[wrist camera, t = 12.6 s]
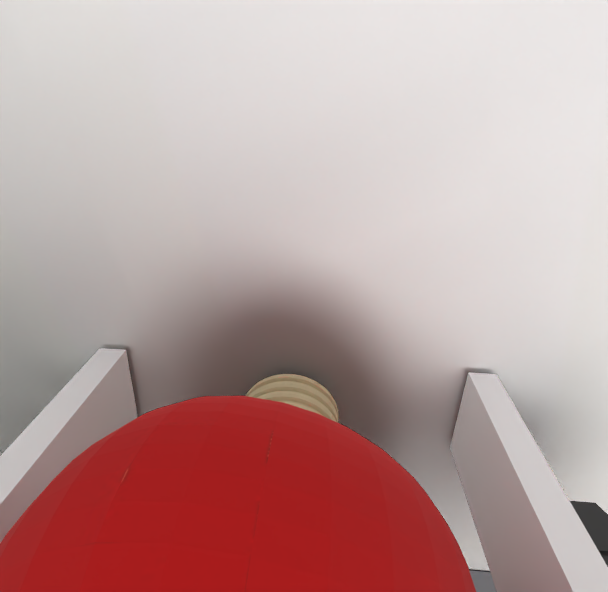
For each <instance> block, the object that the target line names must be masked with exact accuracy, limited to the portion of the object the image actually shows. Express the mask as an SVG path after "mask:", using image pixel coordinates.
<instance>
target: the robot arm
mask: <svg viewBox="0 0 608 592" xmlns="http://www.w3.org/2000/svg"><path fill="white" fill-rule="evenodd" d="M136 418H138V415H137V410H136V404H135V398H134V392H133V387H132V381H131V375H130V369H129V364H128V358H127V352H126V350H123V349H108V348H99V349H98V350H97V352H96V353H95V354H94V355H93V356H92V357H91V358H90V359H89V360H88V361H87V362H86V363H85V365H84V366H83V367H82V368H81V369H80V370H79V371H78V372H77V373H76V374H75V375H74V376H73V378H72V379H71V380H70V381H69V382H68V383H67V384H66V385H65V386H64V387H63V388H62V390H61V391H60V392H59V393H58V394H57V395H56V396H55V397H54V398H53V399H52V400H51V401H50V403H49V404H48V405H47V406H46V407H45V408H44V409H43V410H42V411H41V412H40V413H39V414H38V416H37V417H36V418H35V419H34V420H33V421H32V422H31V423H30V424H29V425H28V426H27V428H26V429H25V430H24V431H23V432H22V433H21V434H20V435H19V436H18V437H17V438H16V439H15V441H14V442H13V443H12V444H11V445H10V446H9V447H8V448H7V449H6V450H5V451H4V452H3V454H2V455H1V456H0V543H1V542H2V540H3V539H4V537H5V536H6V534H7V533H8V531H9V530H10V529H11V528H12V527H13V525H14V524H15V523H16V522H17V520H18V519H19V518H20V517H21V516H22V514H23V513H24V512H25V511H26V509H27V508H28V507H29V506H30V505H31V504H32V503H33V501H34V500H35V499H36V498H37V497H38V496H39V495H40V494H41V493H42V491H43V490H44V489H45V488H46V487H47V486H48V485H49V484H50V482H51V481H52V480H53V479H54V478H55V477H56V476H57V475H58V474H59V473H60V472H61V471H62V470H63V469H64V468H65V467H66V466H67V465H68V464H69V463H70V462H71V461H72V460H73V459H75V458H76V457H77V456H78V455H80V454H81V453H82V452H84V451H85V450H86V449H87V448H89V447H90V446H91V445H92V444H94V443H96V442H97V441H99V440H101V439H102V438H104V437H106V436H107V435H109V434H110V433H112V432H114V431H116V430H117V429H119V428H121V427H122V426H124V425H126V424H127V423H129V422H131V421H132V420H134V419H136ZM450 449H451V452H452V455H453V458H454V461H455V465H456V468H457V471H458V474H459V477H460V480H461V483H462V486H463V489H464V492H465V495H466V498H467V502H468V505H469V508H470V511H471V514H472V517H473V520H474V523H475V526H476V529H477V532H478V535H479V538H480V542H481V545H482V548H483V551H484V554H485V557H486V560H487V563H488V566H489V569H490V572H491V575H492V578H493V582H494V585H495V588H496V591H497V592H608V514H607V513H605V512H604V511H603V510H602V509H601V508H600V507H599V506H598V505H597V504H596V503H590V502H577V501H569V499H568V497H567V495H566V494H565V492H564V490H563V488H562V487H561V485H560V483H559V481H558V480H557V478H556V476H555V475H554V473H553V471H552V469H551V468H550V466H549V464H548V462H547V461H546V459H545V457H544V455H543V454H542V452H541V450H540V449H539V447H538V445H537V443H536V442H535V440H534V438H533V436H532V435H531V433H530V431H529V429H528V428H527V426H526V424H525V422H524V421H523V419H522V417H521V416H520V414H519V412H518V410H517V409H516V407H515V405H514V403H513V402H512V400H511V398H510V396H509V395H508V393H507V391H506V389H505V388H504V386H503V384H502V383H501V381H500V379H499V377H498V376H497V374H484V373H469V372H468V376H467V380H466V384H465V388H464V392H463V396H462V400H461V404H460V408H459V413H458V417H457V421H456V425H455V429H454V433H453V437H452V441H451V445H450Z"/></svg>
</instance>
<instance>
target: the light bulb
mask: <svg viewBox="0 0 608 592" xmlns="http://www.w3.org/2000/svg"><path fill="white" fill-rule="evenodd" d="M338 418H339V413H338V408H337V405H336V402H335V400H334V398H333V397H332V395H331V394H330V393H329V391H328V390H327V389H326V388H325V387H324V386H322V385H321V384H319V383H318V382H316V381H314V380H312V379H310V378H308V377H305V376H301V375H296V374H278V375H273V376H270V377H267V378H264V379H263V380H261V381H259V382H258V383H256V384H255V385H254V386H253V387H252V388H251V389H250V390H249V391H248V392H247V394H246V396H204V397H198V398H193V399H190V400H186V401H182V402H179V403H175V404H172V405H168V406H164V407H161V408H157V409H155V410H152V411H150V412H147V413H145V414H143V415H141V416H139V417H138V418H136V419H134V420H132V421H131V422H129V423H127V424H126V425H124V426H122V427H121V428H119V429H117V430H116V431H114V432H112V433H110V434H109V435H107V436H106V437H104V438H102V439H101V440H99V441H97V442H96V443H94V444H92V445H91V446H90V447H89V448H87V449H86V450H85V451H84V452H82V453H81V454H80V455H78V456H77V457H76V458H75V459H73V460H72V461H71V462H70V463H69V464H68V465H67V466H66V467H65V468H64V469H63V470H62V471H61V472H60V473H59V474H58V475H57V476H56V477H55V478H54V479H53V480H52V481H51V482H50V484H49V485H48V486H47V487H46V488H45V489H44V490H43V491H42V493H41V494H40V495H39V496H38V497H37V498H36V499H35V500H34V501H33V503H32V504H31V505H30V506H29V507H28V508H27V509H26V511H25V512H24V513H23V514H22V516H21V517H20V518H19V519H18V520H17V522H16V523H15V524H14V525H13V527H12V528H11V529H10V530H9V531H8V533H7V534H6V536H5V537H4V539H3V540H2V542H1V543H0V592H476V589H475V586H474V583H473V580H472V577H471V574H470V571H469V568H468V565H467V563H466V561H465V559H464V556H463V554H462V552H461V549H460V547H459V545H458V543H457V541H456V539H455V537H454V535H453V533H452V531H451V530H450V528H449V526H448V524H447V523H446V521H445V520H444V518H443V517H442V515H441V514H440V512H439V511H438V509H437V508H436V506H435V505H434V503H433V502H432V501H431V499H430V498H429V496H428V495H427V493H426V492H425V491H424V489H423V488H422V487H421V486H420V484H419V483H418V482H417V481H416V480H415V479H414V477H413V476H412V475H411V474H409V473H408V472H407V471H406V470H405V469H404V468H403V467H402V466H401V465H400V464H399V463H397V462H396V461H395V460H394V459H393V458H392V457H391V456H389V455H388V454H387V453H386V452H385V451H384V450H383V449H381V448H380V447H378V446H377V445H375V444H373V443H372V442H370V441H369V440H367V439H366V438H364V437H362V436H361V435H359V434H358V433H356V432H355V431H353V430H351V429H350V428H348V427H346V426H343V425H341V424H339V421H338Z"/></svg>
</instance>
